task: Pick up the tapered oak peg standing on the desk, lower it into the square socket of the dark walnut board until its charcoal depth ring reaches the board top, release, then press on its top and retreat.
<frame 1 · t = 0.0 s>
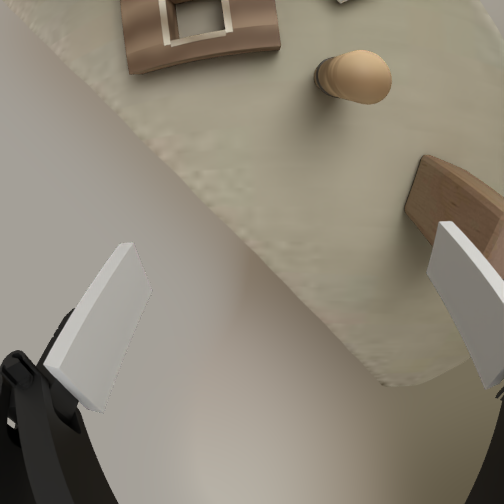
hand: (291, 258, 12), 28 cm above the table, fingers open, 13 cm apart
seat board: (200, 5, 25), on the table
wooden block: (434, 189, 37), on the table
oak peg: (330, 77, 30), on the table
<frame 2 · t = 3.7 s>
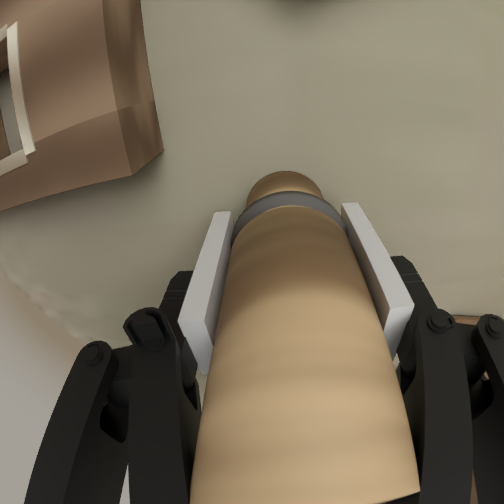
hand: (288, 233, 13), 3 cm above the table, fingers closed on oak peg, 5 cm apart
seat board: (22, 72, 10), on the table
wooden block: (453, 346, 23), on the table
oak peg: (285, 207, 15), on the table, touching gripper
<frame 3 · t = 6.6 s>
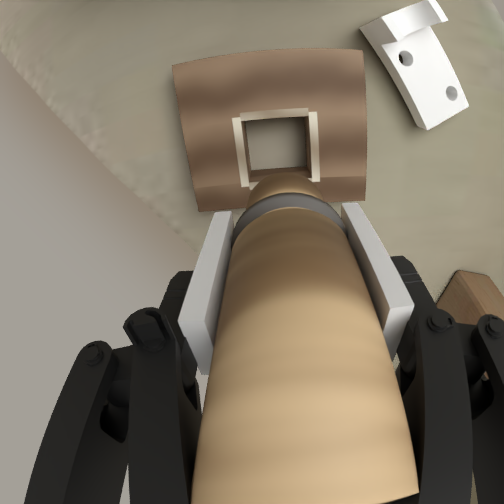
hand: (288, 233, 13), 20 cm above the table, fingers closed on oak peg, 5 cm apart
seat board: (275, 123, 29), on the table
wooden block: (460, 291, 41), on the table
bracket: (409, 65, 23), on the table
oak peg: (285, 208, 15), point 17 cm above the table, touching gripper
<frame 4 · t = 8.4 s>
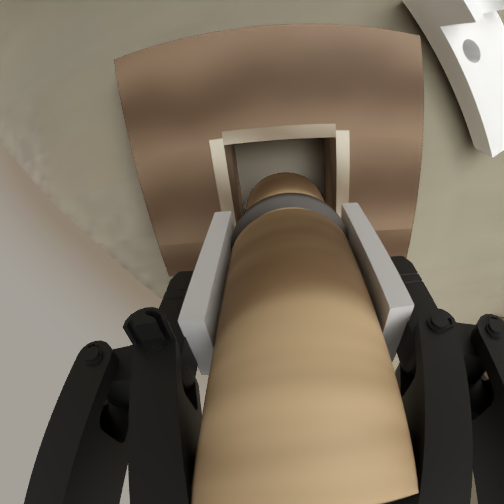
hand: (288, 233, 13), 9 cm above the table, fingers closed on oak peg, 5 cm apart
seat board: (279, 144, 19), on the table
bracket: (465, 61, 14), on the table
oak peg: (285, 209, 15), point 6 cm above the table, touching gripper
when the fingers open (5 cm above the table, at t = 9.9 s): oak peg drops 2 cm, resting in seat board.
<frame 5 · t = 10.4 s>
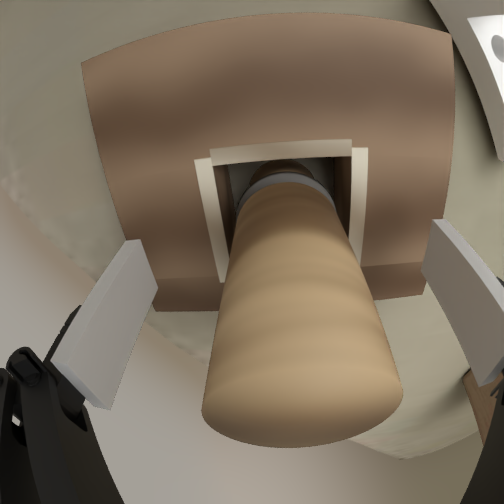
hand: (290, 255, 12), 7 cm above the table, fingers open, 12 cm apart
seat board: (280, 160, 16), on the table
wooden block: (495, 354, 29), on the table
bracket: (489, 60, 11), on the table
oak peg: (282, 191, 18), resting in seat board
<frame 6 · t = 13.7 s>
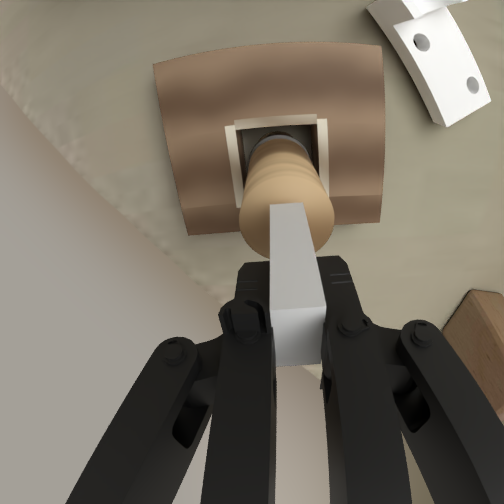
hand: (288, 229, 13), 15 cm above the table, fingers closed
seat board: (276, 131, 25), on the table
wooden block: (471, 310, 37), on the table
bracket: (423, 52, 19), on the table
oak peg: (277, 152, 26), resting in seat board
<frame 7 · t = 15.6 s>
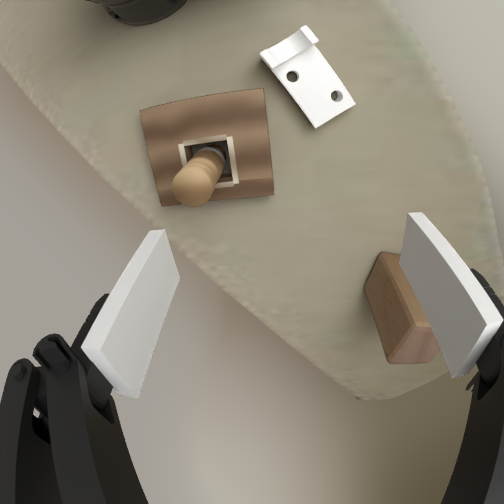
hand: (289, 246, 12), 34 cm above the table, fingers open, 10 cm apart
seat board: (211, 144, 42), on the table
wooden block: (390, 272, 55), on the table
bracket: (306, 78, 36), on the table
oak peg: (213, 156, 44), resting in seat board
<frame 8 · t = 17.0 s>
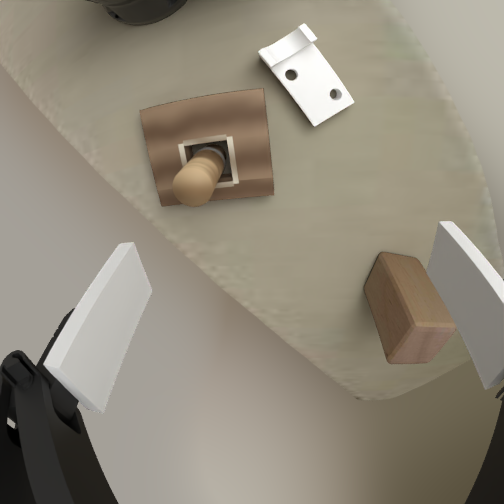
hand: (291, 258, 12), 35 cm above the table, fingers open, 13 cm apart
seat board: (211, 144, 42), on the table
wooden block: (390, 272, 55), on the table
bracket: (305, 77, 36), on the table
oak peg: (213, 156, 44), resting in seat board
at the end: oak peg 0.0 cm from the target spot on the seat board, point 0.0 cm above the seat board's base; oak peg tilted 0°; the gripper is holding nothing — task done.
